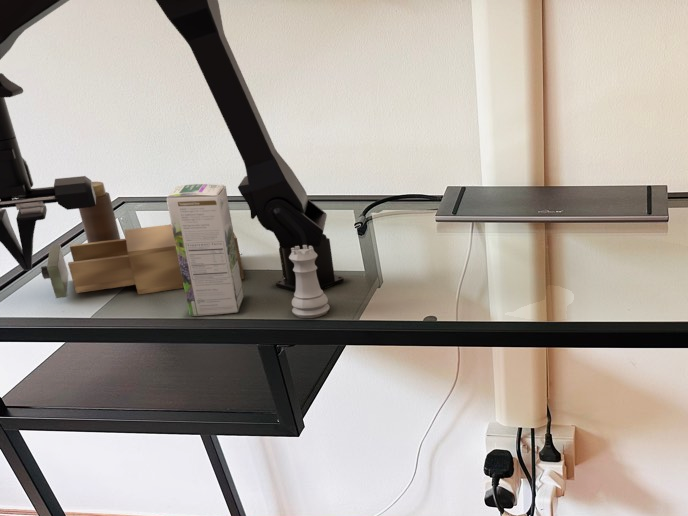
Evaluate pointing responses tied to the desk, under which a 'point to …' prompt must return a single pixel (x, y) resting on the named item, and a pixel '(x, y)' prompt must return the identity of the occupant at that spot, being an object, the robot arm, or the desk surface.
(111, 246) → the drawer
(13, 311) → the desk surface
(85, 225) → the pepper mill
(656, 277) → the desk surface
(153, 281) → the drawer unit
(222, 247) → the syrup box
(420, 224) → the desk surface
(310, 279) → the rook chess piece
